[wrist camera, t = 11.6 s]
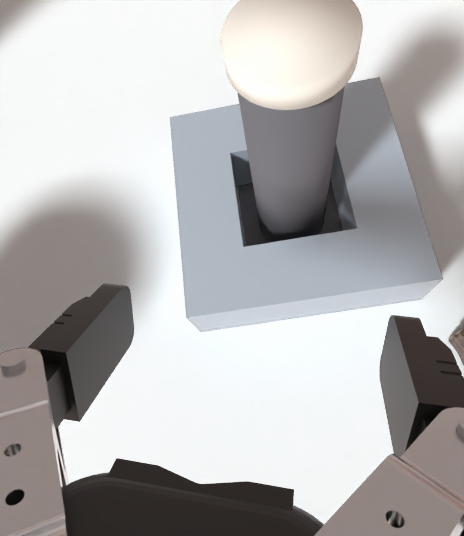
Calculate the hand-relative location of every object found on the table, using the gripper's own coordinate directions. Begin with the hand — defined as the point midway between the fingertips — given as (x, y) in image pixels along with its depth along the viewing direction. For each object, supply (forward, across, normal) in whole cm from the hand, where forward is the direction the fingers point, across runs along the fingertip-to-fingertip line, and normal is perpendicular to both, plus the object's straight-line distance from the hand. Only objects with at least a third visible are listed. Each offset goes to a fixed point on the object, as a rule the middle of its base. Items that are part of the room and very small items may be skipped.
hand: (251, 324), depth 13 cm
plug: (+17, 0, +2) cm, 17 cm away
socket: (+17, 0, +2) cm, 17 cm away
